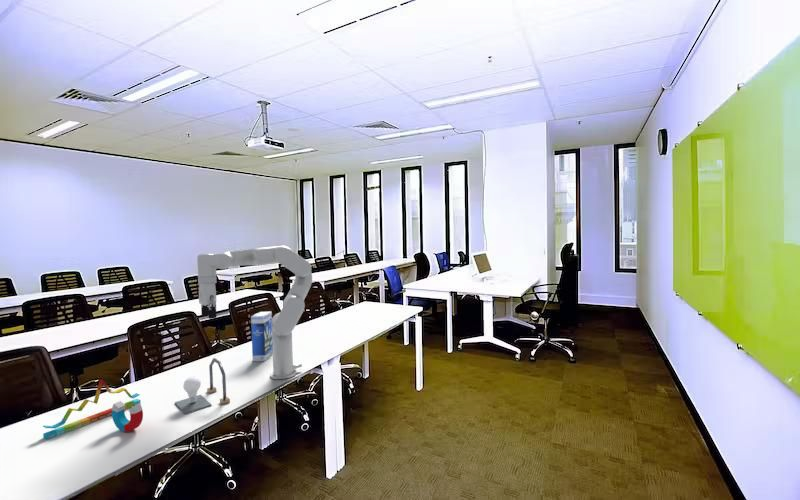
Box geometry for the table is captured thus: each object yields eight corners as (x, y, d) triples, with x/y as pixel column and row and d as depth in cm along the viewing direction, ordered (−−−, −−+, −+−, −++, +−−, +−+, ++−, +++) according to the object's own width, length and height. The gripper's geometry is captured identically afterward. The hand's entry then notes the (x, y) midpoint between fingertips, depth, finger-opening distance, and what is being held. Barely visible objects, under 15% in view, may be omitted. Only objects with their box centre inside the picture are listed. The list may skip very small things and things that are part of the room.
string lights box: (265, 361, 206) (263, 316, 205) (251, 361, 207) (250, 316, 206) (273, 353, 220) (272, 311, 219) (261, 354, 220) (259, 311, 219)
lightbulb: (183, 407, 151) (182, 381, 150) (184, 401, 156) (183, 376, 156) (201, 404, 154) (200, 378, 153) (201, 398, 159) (200, 373, 159)
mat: (200, 395, 163) (200, 394, 163) (211, 405, 153) (211, 404, 153) (174, 403, 156) (174, 402, 156) (184, 414, 146) (184, 412, 146)
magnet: (112, 430, 135) (110, 403, 135) (119, 426, 138) (118, 400, 137) (136, 434, 132) (135, 407, 131) (144, 430, 134) (142, 403, 134)
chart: (47, 440, 129) (45, 399, 129) (43, 438, 131) (40, 397, 130) (140, 404, 156) (139, 369, 156) (136, 403, 158) (135, 368, 157)
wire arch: (214, 389, 169) (212, 354, 169) (229, 402, 156) (228, 363, 155) (207, 391, 167) (205, 355, 167) (222, 404, 154) (220, 365, 153)
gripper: (192, 279, 174) (194, 315, 175) (204, 282, 162) (206, 320, 163) (209, 278, 180) (211, 312, 180) (222, 280, 167) (224, 317, 168)
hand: (208, 316), depth 171 cm, fingers open, 9 cm apart
